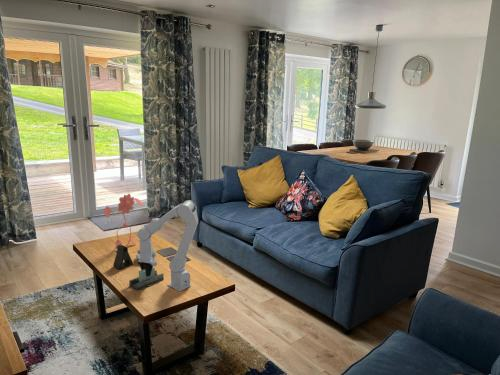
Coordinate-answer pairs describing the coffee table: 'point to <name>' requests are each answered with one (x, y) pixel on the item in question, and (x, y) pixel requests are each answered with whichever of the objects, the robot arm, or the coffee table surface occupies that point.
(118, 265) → the phone stand
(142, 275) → the door panel
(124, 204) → the figurine
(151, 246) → the air freshener
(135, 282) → the floor track
